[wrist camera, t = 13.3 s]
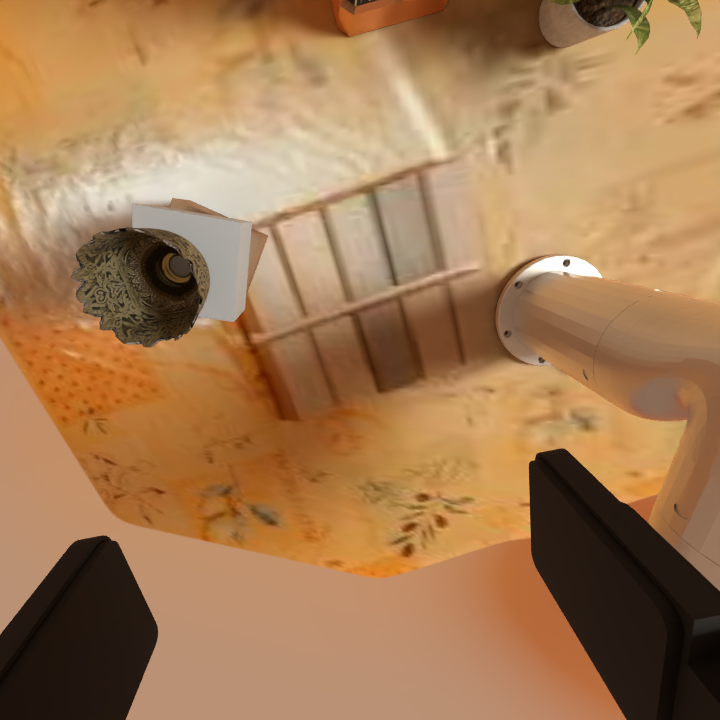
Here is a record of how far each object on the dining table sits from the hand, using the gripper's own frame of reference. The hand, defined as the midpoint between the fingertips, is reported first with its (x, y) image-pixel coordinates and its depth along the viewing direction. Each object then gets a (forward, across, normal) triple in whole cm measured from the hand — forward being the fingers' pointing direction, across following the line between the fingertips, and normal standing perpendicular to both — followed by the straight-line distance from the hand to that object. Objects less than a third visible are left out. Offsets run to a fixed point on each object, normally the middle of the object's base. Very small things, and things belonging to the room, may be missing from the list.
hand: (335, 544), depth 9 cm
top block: (+31, +11, -5) cm, 34 cm away
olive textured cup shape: (+26, +11, -5) cm, 29 cm away
